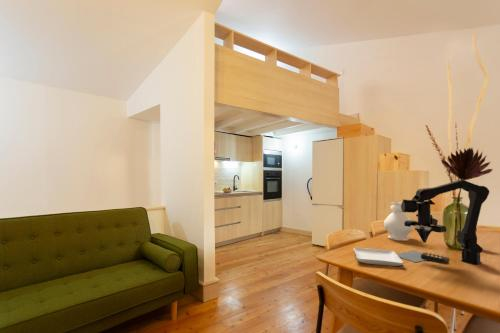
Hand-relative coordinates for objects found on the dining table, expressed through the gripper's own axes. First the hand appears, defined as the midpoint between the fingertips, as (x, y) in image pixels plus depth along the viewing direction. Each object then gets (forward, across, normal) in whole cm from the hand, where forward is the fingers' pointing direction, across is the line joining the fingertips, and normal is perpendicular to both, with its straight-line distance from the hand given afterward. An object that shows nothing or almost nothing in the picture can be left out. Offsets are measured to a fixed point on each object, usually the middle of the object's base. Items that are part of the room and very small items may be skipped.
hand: (424, 242), depth 140 cm
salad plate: (+10, +11, +23) cm, 27 cm away
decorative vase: (+9, +36, -29) cm, 47 cm away
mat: (+9, +6, 0) cm, 11 cm away
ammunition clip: (+8, -4, -1) cm, 9 cm away
